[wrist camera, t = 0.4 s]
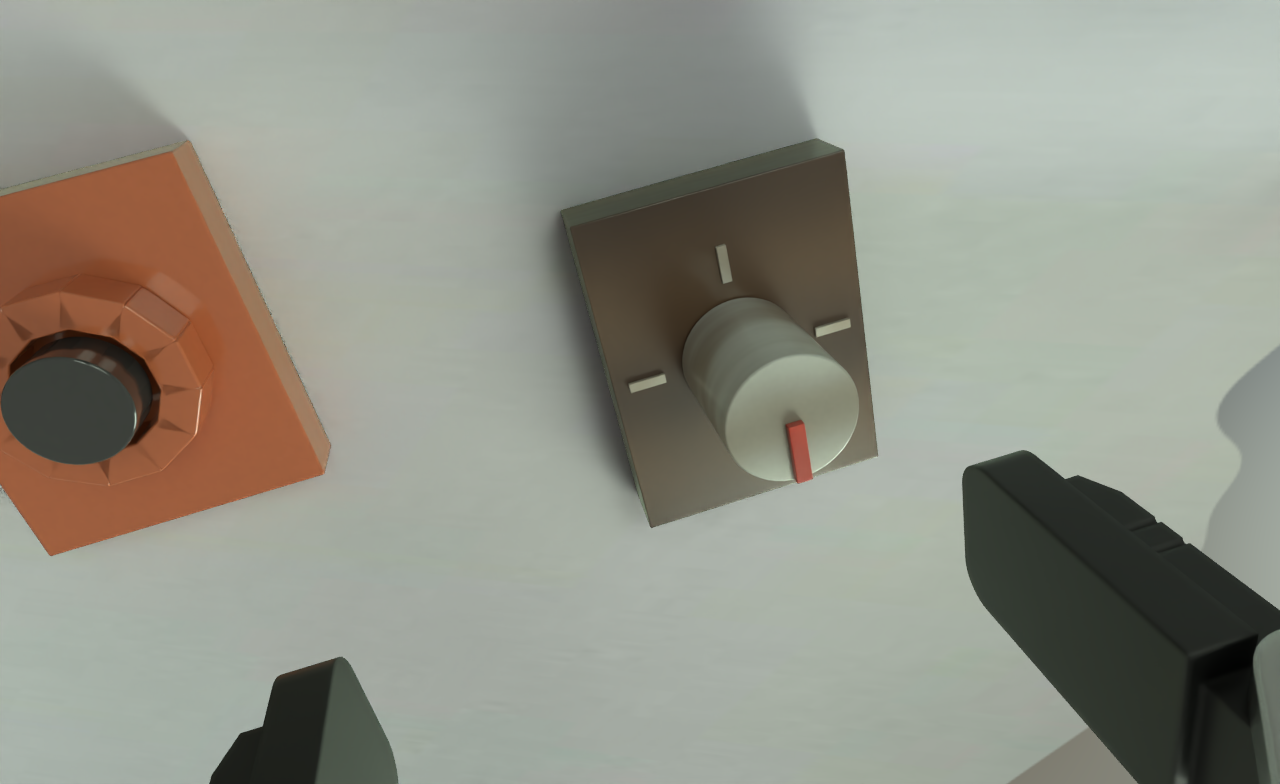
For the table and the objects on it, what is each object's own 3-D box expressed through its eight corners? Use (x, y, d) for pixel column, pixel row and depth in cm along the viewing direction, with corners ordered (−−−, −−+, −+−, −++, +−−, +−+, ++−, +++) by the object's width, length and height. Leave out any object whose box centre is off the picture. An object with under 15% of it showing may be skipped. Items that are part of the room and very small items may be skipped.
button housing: (-127, 222, 27) (-211, 259, 24) (190, 139, 28) (153, 162, 24) (72, 523, 33) (28, 589, 29) (331, 445, 34) (319, 500, 30)
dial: (670, 316, 31) (715, 382, 26) (789, 281, 32) (856, 340, 27) (694, 423, 34) (740, 503, 28) (805, 389, 34) (870, 462, 29)
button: (0, 354, 26) (-28, 378, 25) (119, 321, 27) (99, 342, 25) (62, 452, 28) (40, 480, 26) (174, 420, 28) (158, 446, 27)
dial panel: (560, 209, 31) (570, 228, 29) (817, 137, 32) (846, 150, 30) (638, 496, 37) (651, 530, 35) (853, 429, 38) (880, 458, 36)
